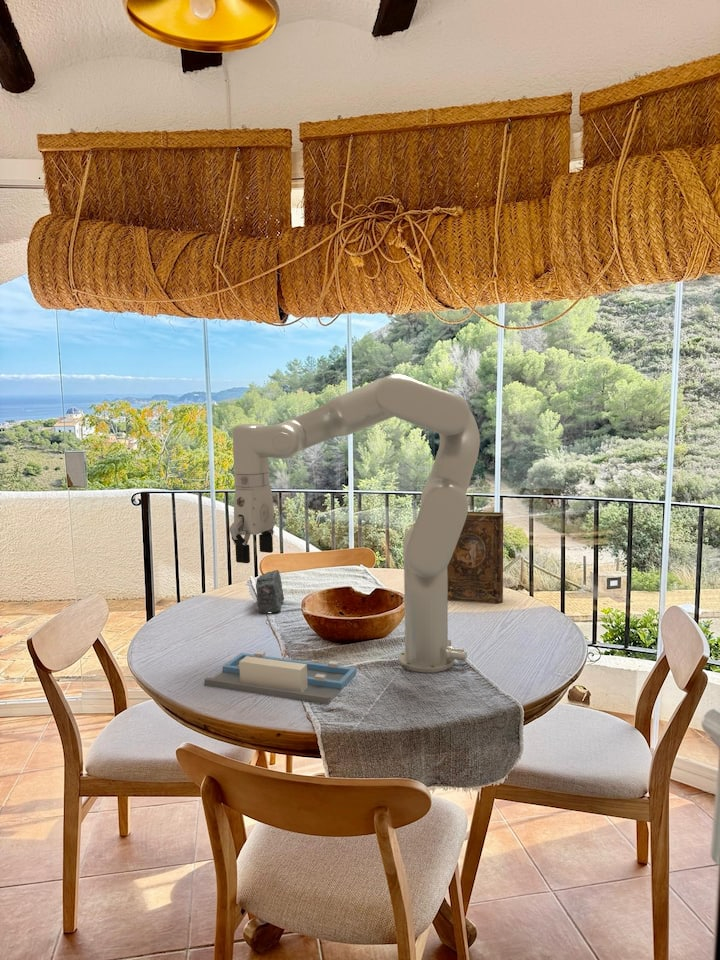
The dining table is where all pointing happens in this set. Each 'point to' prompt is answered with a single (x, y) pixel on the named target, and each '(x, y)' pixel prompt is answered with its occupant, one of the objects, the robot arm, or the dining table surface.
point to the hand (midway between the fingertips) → (255, 557)
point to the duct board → (321, 689)
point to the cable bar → (273, 673)
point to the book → (478, 560)
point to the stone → (269, 592)
